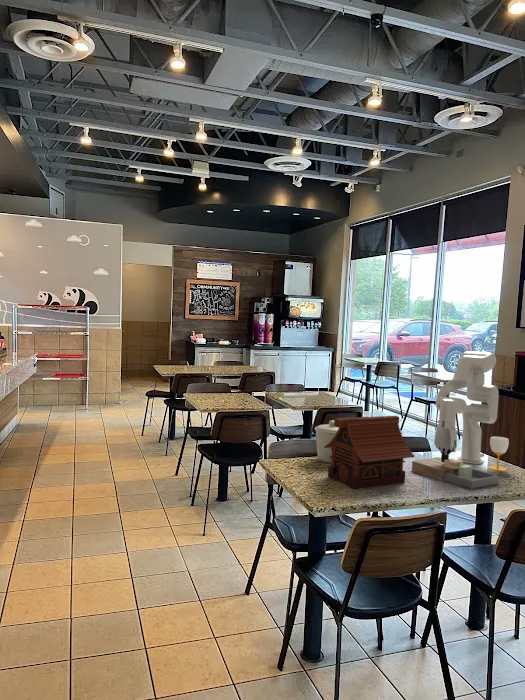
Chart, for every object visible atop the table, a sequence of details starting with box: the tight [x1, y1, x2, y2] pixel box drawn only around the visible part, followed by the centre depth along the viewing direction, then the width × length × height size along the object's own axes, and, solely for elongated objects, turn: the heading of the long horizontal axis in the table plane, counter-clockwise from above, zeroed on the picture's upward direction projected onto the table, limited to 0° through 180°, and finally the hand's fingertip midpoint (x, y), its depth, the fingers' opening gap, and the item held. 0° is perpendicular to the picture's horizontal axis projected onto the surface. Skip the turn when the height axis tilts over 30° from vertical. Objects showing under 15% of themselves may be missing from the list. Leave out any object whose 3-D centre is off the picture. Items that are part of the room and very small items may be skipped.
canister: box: [314, 419, 339, 464], centre depth 269 cm, size 18×18×21 cm
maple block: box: [444, 458, 464, 469], centre depth 248 cm, size 6×6×3 cm
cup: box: [487, 435, 510, 472], centre depth 268 cm, size 9×9×16 cm
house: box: [324, 415, 415, 490], centre depth 235 cm, size 35×28×29 cm
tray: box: [442, 468, 500, 491], centre depth 240 cm, size 20×15×4 cm
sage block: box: [458, 464, 473, 480], centre depth 243 cm, size 6×6×3 cm
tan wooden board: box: [411, 456, 467, 482], centre depth 254 cm, size 20×18×5 cm
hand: (444, 461), depth 252 cm, fingers closed
